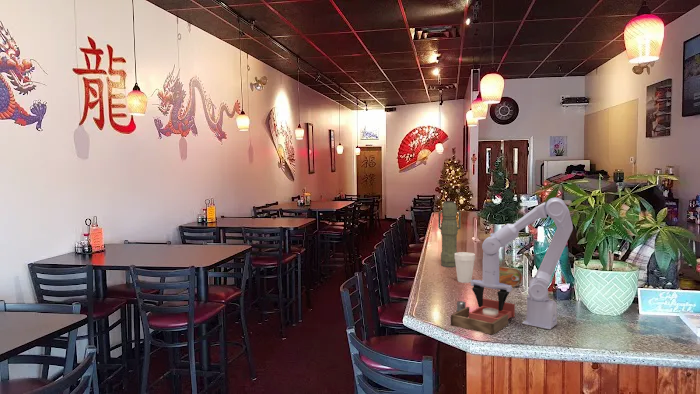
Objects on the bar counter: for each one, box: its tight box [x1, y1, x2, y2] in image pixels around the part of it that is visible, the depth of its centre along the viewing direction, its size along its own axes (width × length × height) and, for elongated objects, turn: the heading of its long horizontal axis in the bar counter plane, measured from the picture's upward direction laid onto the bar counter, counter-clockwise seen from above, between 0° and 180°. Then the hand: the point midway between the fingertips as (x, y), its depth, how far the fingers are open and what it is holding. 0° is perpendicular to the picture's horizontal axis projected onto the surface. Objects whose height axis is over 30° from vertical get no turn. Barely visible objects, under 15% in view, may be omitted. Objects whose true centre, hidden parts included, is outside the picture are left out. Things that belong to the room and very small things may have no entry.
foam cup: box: [455, 251, 476, 284], centre depth 228 cm, size 10×9×13 cm
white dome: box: [483, 308, 498, 318], centre depth 173 cm, size 5×5×2 cm
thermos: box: [437, 201, 462, 268], centre depth 263 cm, size 9×12×35 cm
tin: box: [499, 265, 523, 288], centre depth 221 cm, size 15×3×8 cm, turn 45°
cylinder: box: [456, 300, 467, 312], centre depth 182 cm, size 3×3×4 cm
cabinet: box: [450, 306, 509, 335], centre depth 166 cm, size 15×12×4 cm
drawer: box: [468, 297, 516, 323], centre depth 173 cm, size 13×12×5 cm
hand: (490, 308), depth 173 cm, fingers open, 7 cm apart
